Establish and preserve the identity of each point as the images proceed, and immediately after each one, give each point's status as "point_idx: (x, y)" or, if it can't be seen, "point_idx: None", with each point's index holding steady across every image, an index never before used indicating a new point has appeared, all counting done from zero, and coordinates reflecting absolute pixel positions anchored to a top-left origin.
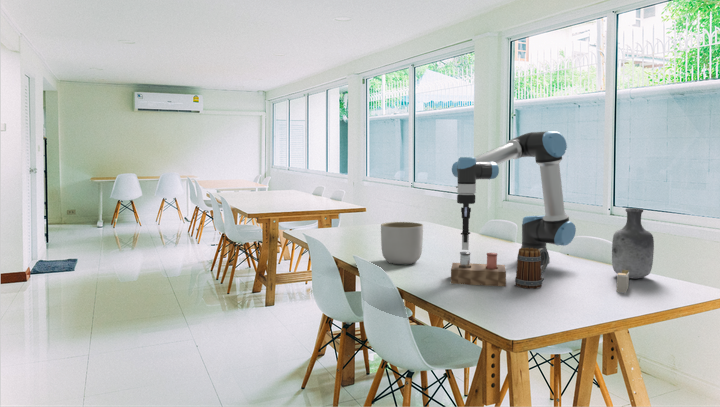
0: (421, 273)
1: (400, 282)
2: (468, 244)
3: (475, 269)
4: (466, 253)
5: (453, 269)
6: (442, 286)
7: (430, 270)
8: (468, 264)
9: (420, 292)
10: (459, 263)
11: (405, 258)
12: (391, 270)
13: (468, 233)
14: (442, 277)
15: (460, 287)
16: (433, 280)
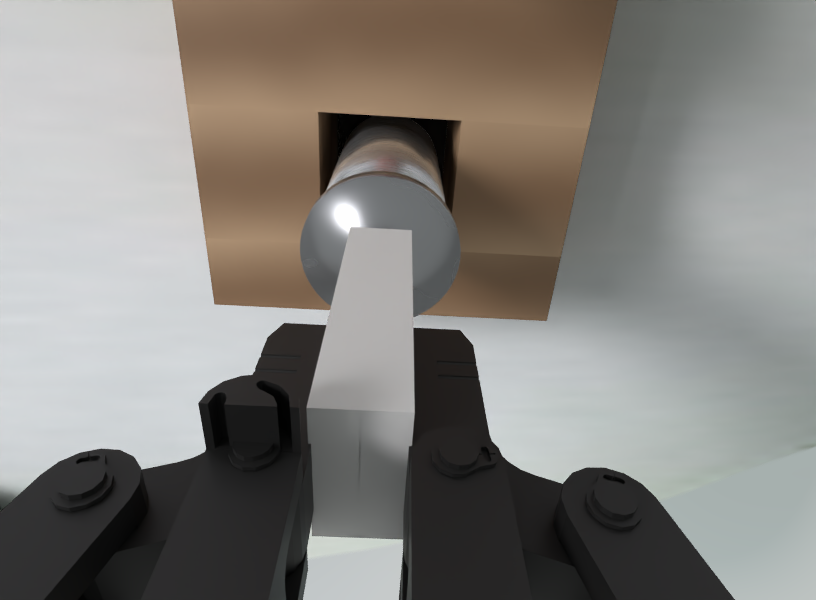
0: None
1: None
2: (411, 275)
3: (542, 66)
4: (454, 240)
5: (548, 300)
6: (607, 314)
7: (110, 394)
8: (429, 158)
9: (753, 427)
10: (236, 240)
11: None
12: None
13: (622, 476)
14: (320, 316)
15: (644, 188)
16: None
